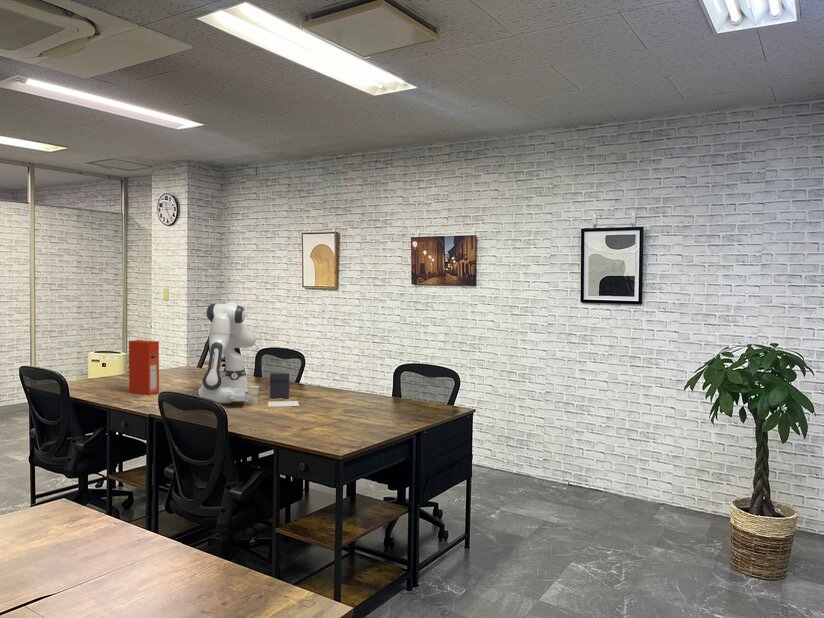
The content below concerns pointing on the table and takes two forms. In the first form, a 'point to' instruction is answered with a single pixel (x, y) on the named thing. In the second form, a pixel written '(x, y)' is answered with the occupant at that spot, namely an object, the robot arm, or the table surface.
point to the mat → (283, 404)
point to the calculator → (279, 385)
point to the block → (255, 392)
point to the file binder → (144, 367)
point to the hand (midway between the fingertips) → (253, 394)
